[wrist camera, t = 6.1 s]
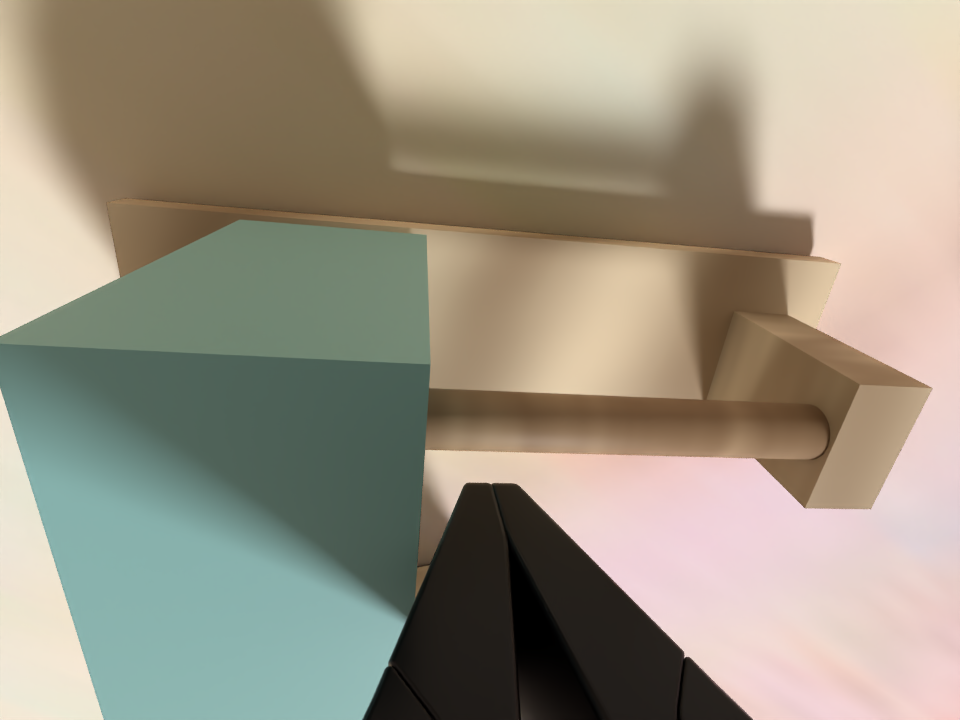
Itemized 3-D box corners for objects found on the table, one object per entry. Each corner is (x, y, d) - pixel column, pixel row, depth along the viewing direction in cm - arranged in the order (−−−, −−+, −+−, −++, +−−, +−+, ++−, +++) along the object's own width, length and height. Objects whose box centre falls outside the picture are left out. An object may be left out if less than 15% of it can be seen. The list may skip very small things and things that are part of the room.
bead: (426, 234, 11) (431, 363, 5) (413, 456, 14) (406, 732, 8) (239, 219, 11) (-15, 343, 5) (260, 453, 13) (112, 746, 7)
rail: (820, 256, 14) (1015, 319, 10) (752, 438, 17) (882, 560, 12) (125, 198, 12) (-71, 243, 7) (163, 419, 14) (36, 562, 10)
